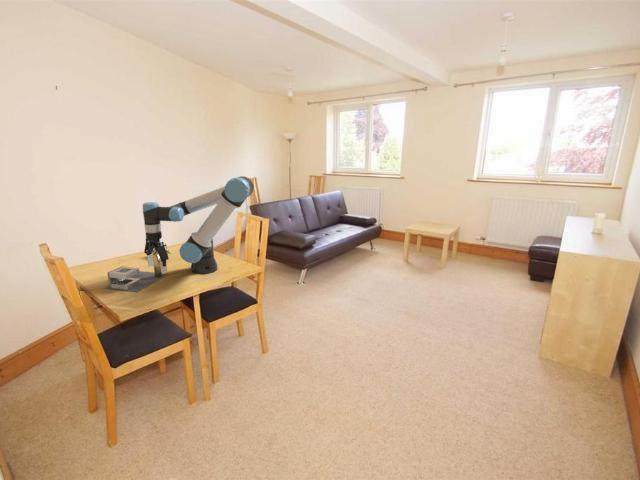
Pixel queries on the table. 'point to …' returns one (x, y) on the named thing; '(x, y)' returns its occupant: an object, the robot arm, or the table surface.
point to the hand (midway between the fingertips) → (157, 268)
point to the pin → (157, 265)
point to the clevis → (123, 278)
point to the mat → (142, 281)
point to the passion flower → (166, 250)
